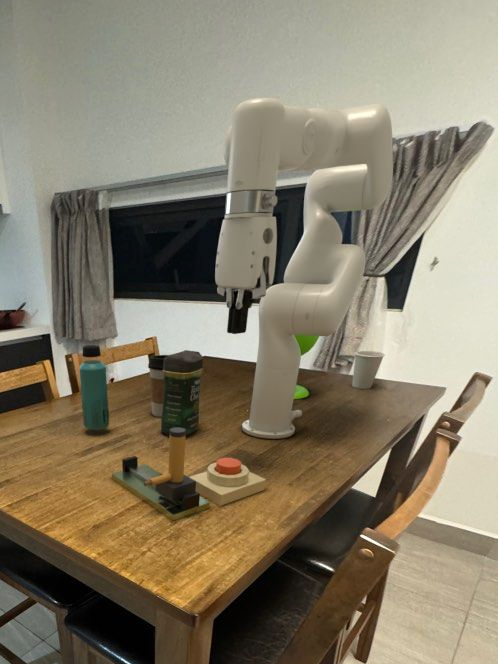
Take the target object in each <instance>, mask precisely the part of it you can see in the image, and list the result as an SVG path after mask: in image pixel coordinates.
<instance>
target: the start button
mask: <svg viewBox="0 0 498 664" xmlns="http://www.w3.org/2000/svg"><path fill="white" fill-rule="evenodd" d="M216 462H217V463H216ZM216 462H215V463H216V472H218V473H220V474H224V475H236V474H239V473H240V469H241V464H242V462H241V460H240V459H237V458H233V457H221V458H218V459H217V460H216Z"/></svg>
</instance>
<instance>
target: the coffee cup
mask: <svg viewBox="0 0 498 664" xmlns="http://www.w3.org/2000/svg"><path fill="white" fill-rule="evenodd" d="M168 355H169V354H158V355H152V356H150V357H149V363H148V364H147V365H148V366H147V368H148V369H149V375H148V377H149V389H150V401H151V414H152V415H153V416H155V417H158V418H162V409H163V395H164V375H163V364H164V358H165V357H167V356H168Z"/></svg>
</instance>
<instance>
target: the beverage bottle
mask: <svg viewBox="0 0 498 664" xmlns="http://www.w3.org/2000/svg"><path fill="white" fill-rule="evenodd" d="M101 356H102V354H101V347H100V346H99V345H96V344H89V345H83V346H82V357H83V358H97V357H101ZM78 370H79V380H80V391H81V393H80V394H81V405H82V406H81V407H82V420H83V425H84V428H86V429H88V430H92V431H99V430H104V429H107V428H108V427H109V425H110V414H109V395H108V383H107V366H106V364H105V363H104V362H103V361H101V360H98V359H90V360H83V362H82V363H81V364H80V365H79V368H78Z"/></svg>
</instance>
